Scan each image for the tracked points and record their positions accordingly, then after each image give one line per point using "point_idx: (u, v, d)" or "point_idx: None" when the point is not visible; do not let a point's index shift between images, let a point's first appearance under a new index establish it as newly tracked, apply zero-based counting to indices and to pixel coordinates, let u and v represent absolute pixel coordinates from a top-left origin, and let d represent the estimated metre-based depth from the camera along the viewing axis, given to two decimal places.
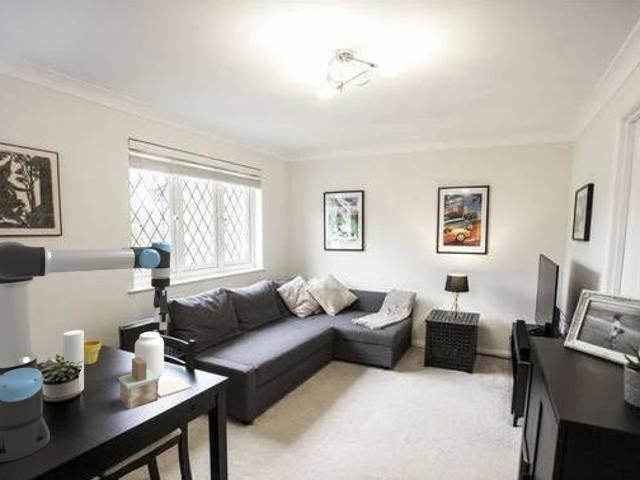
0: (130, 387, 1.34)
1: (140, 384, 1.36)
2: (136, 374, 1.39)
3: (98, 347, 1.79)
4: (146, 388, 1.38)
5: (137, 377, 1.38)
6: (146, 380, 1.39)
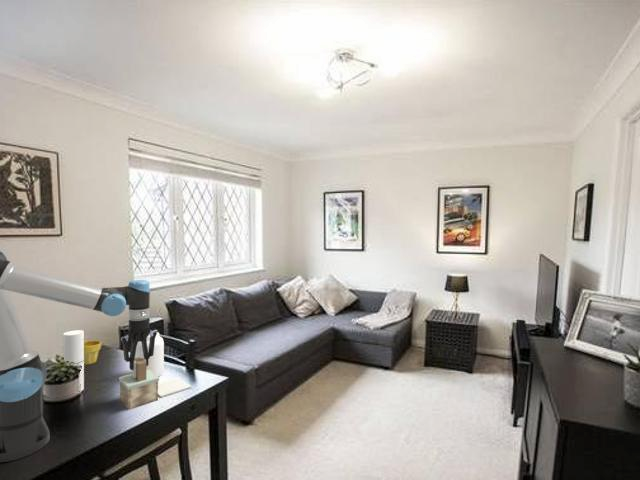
0: (130, 387, 1.34)
1: (140, 384, 1.36)
2: (136, 374, 1.39)
3: (98, 347, 1.79)
4: (146, 388, 1.38)
5: (137, 377, 1.38)
6: (146, 380, 1.39)
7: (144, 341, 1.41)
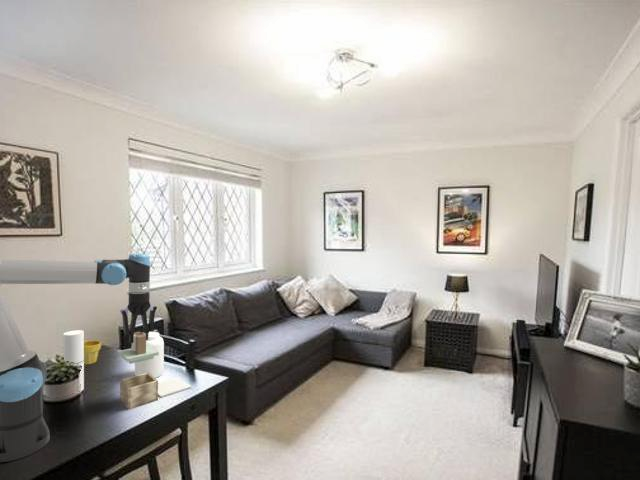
0: (130, 359, 1.34)
1: (140, 357, 1.36)
2: (136, 348, 1.38)
3: (98, 347, 1.79)
4: (146, 388, 1.38)
5: (137, 350, 1.38)
6: (146, 354, 1.38)
7: (144, 315, 1.40)
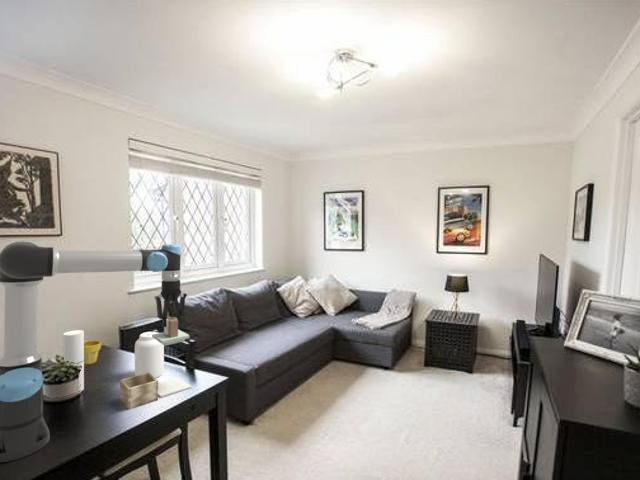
0: (164, 341, 1.45)
1: (173, 339, 1.47)
2: (169, 331, 1.49)
3: (98, 347, 1.79)
4: (146, 388, 1.38)
5: (170, 333, 1.49)
6: (178, 336, 1.49)
7: (175, 301, 1.51)
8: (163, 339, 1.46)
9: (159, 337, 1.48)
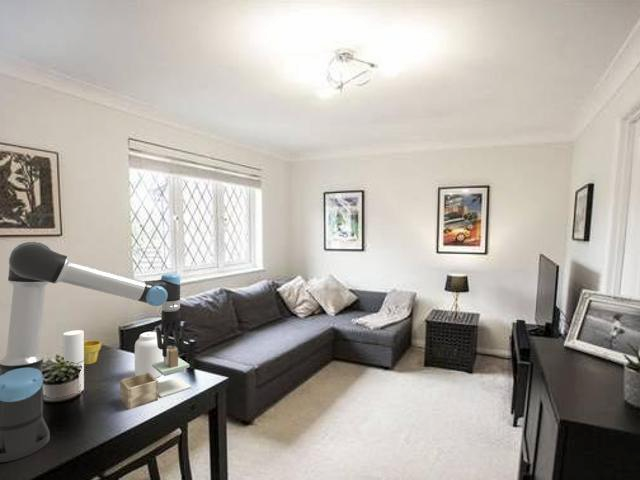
0: (164, 372, 1.45)
1: (173, 370, 1.47)
2: (169, 361, 1.50)
3: (98, 347, 1.79)
4: (146, 388, 1.38)
5: (170, 363, 1.49)
6: (178, 366, 1.50)
7: (175, 330, 1.52)
8: (163, 370, 1.46)
9: (159, 367, 1.49)
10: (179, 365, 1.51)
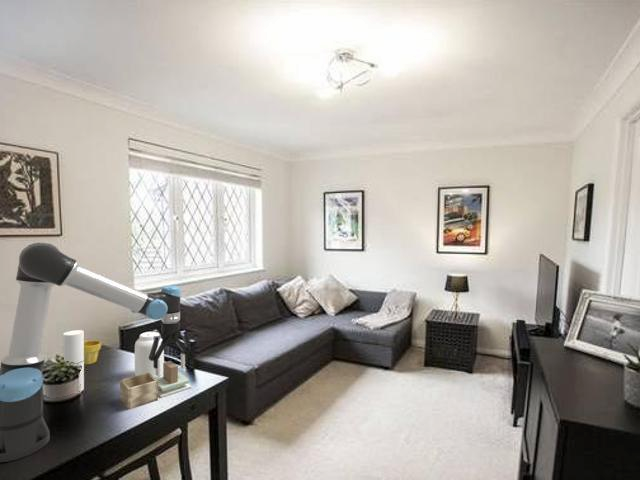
0: (164, 389, 1.45)
1: (173, 386, 1.48)
2: (169, 377, 1.50)
3: (98, 347, 1.79)
4: (146, 388, 1.38)
5: (169, 380, 1.49)
6: (178, 382, 1.50)
7: (178, 341, 1.53)
8: (163, 386, 1.46)
9: (159, 383, 1.49)
10: (179, 381, 1.51)
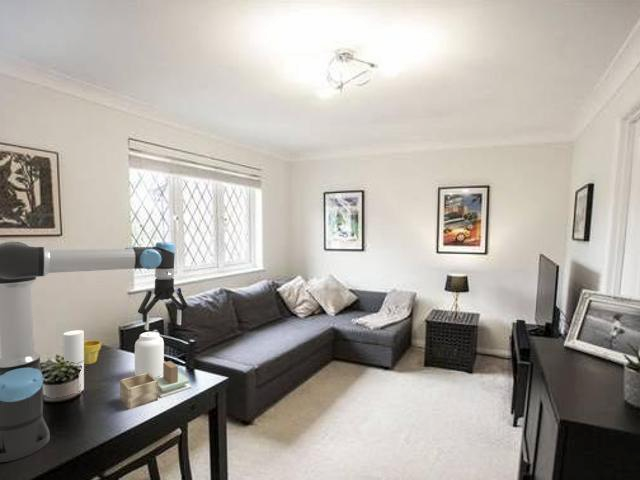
0: (164, 389, 1.45)
1: (173, 386, 1.48)
2: (169, 377, 1.50)
3: (98, 347, 1.79)
4: (146, 388, 1.38)
5: (169, 380, 1.49)
6: (178, 382, 1.50)
7: (172, 298, 1.51)
8: (163, 386, 1.46)
9: (159, 383, 1.49)
10: (179, 381, 1.51)
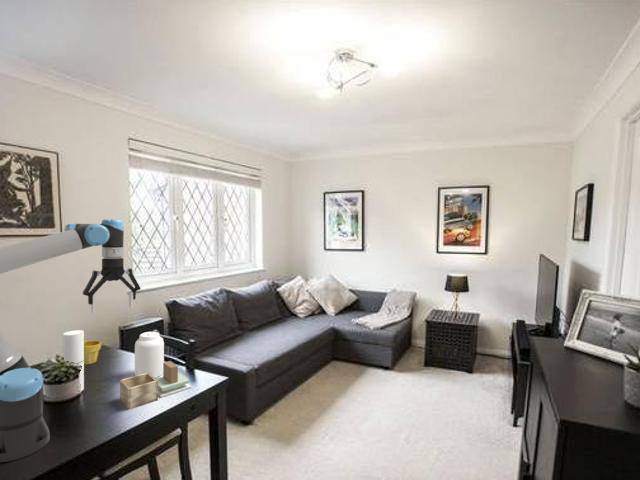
0: (164, 389, 1.45)
1: (173, 386, 1.48)
2: (169, 377, 1.50)
3: (98, 347, 1.79)
4: (146, 388, 1.38)
5: (169, 380, 1.49)
6: (178, 382, 1.50)
7: (122, 279, 1.41)
8: (163, 386, 1.46)
9: (159, 383, 1.49)
10: (179, 381, 1.51)
